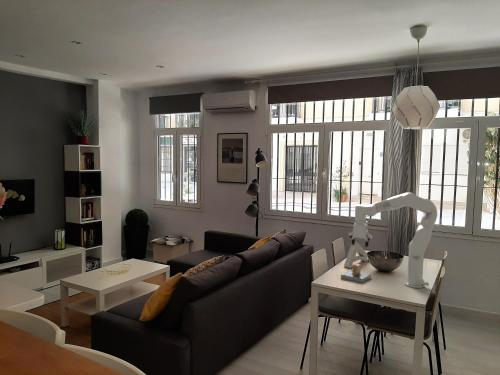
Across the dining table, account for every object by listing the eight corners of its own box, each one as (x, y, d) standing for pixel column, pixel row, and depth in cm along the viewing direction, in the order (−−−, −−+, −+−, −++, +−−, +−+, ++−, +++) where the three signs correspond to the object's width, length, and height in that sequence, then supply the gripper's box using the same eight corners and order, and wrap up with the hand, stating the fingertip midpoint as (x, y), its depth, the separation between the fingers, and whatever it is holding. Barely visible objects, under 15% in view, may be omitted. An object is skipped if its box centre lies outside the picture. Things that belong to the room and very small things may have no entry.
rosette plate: (370, 277, 282) (371, 273, 282) (362, 283, 270) (362, 279, 270) (350, 273, 292) (350, 269, 292) (340, 278, 280) (340, 274, 279)
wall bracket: (362, 282, 324) (348, 267, 305) (357, 280, 327) (343, 266, 308) (370, 258, 332) (357, 242, 313) (365, 257, 335) (352, 241, 316)
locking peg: (359, 278, 281) (360, 264, 280) (357, 279, 278) (358, 265, 277) (354, 277, 284) (355, 263, 283) (352, 278, 281) (352, 264, 280)
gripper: (374, 222, 276) (373, 246, 278) (350, 220, 287) (350, 243, 288) (370, 224, 271) (369, 248, 272) (346, 221, 281) (346, 245, 282)
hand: (359, 245), depth 280 cm, fingers open, 9 cm apart
